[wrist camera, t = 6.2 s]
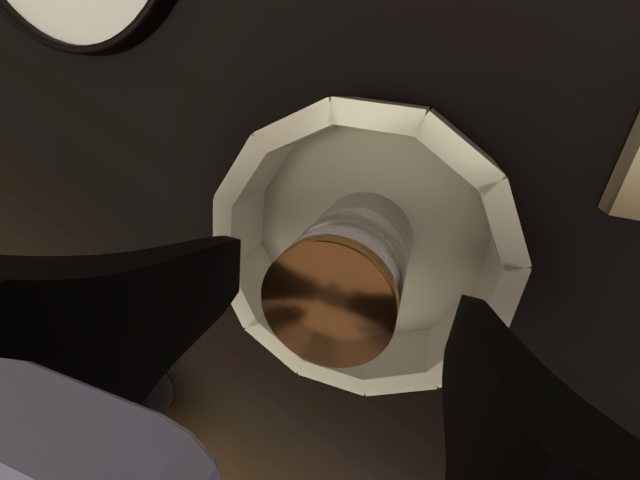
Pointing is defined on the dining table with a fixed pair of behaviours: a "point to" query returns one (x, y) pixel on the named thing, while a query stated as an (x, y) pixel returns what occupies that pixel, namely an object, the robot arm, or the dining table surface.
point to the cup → (403, 189)
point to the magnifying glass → (87, 23)
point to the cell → (341, 282)
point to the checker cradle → (625, 180)
